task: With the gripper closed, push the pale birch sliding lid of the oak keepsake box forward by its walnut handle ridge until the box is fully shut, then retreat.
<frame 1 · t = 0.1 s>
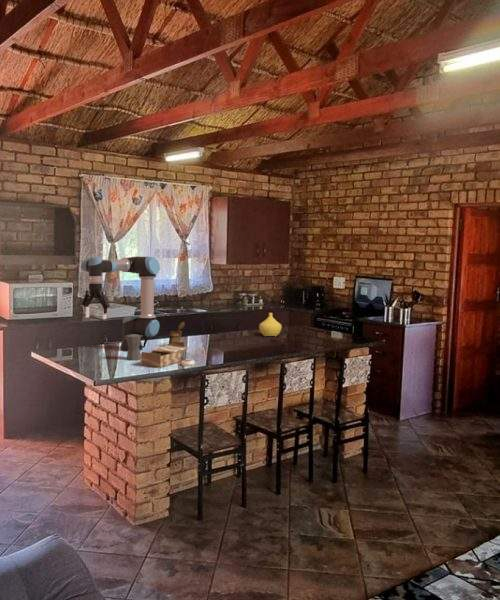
hand: (95, 318, 336), 28 cm above the table, fingers open, 13 cm apart
wooden mug: (176, 347, 401), on the table
vase: (270, 336, 459), on the table
coffeepot: (135, 359, 355), on the table
box: (160, 363, 342), on the table
lid: (170, 346, 350), point 9 cm above the table, slide at 10.0 cm
tape roll: (188, 365, 340), on the table
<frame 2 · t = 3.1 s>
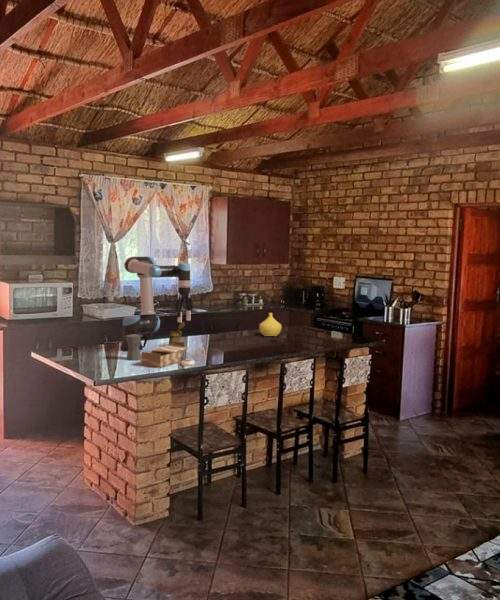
hand: (184, 321, 362), 24 cm above the table, fingers open, 9 cm apart
nothing on the table moved.
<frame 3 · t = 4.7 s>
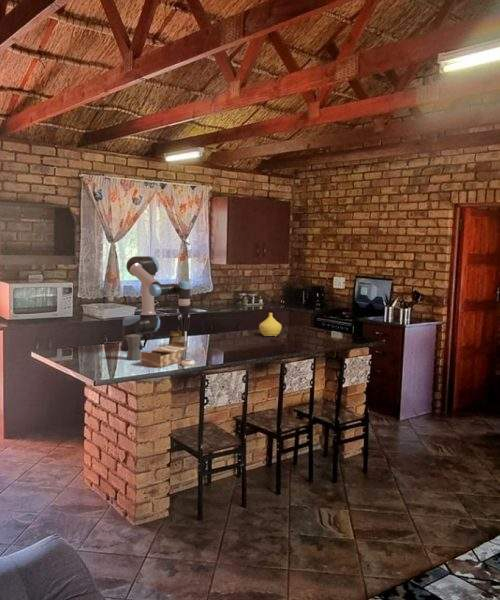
hand: (184, 341, 363), 11 cm above the table, fingers closed
nothing on the table moved.
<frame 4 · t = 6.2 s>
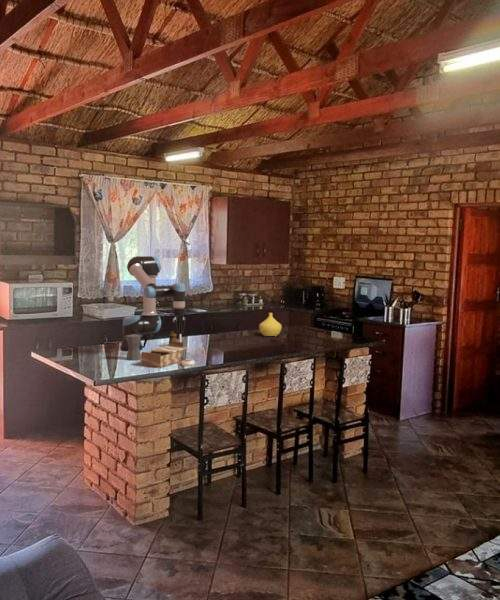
hand: (178, 344, 358), 9 cm above the table, fingers closed
lid: (169, 346, 349), point 9 cm above the table, slide at 8.7 cm, touching gripper
everything else where it was.
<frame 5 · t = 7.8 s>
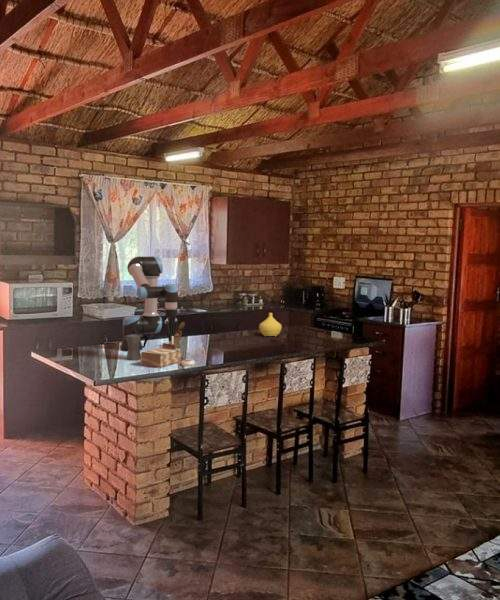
hand: (171, 346, 350), 9 cm above the table, fingers closed
lid: (161, 349, 341), point 9 cm above the table, slide at 0.0 cm, touching gripper
everything else where it was.
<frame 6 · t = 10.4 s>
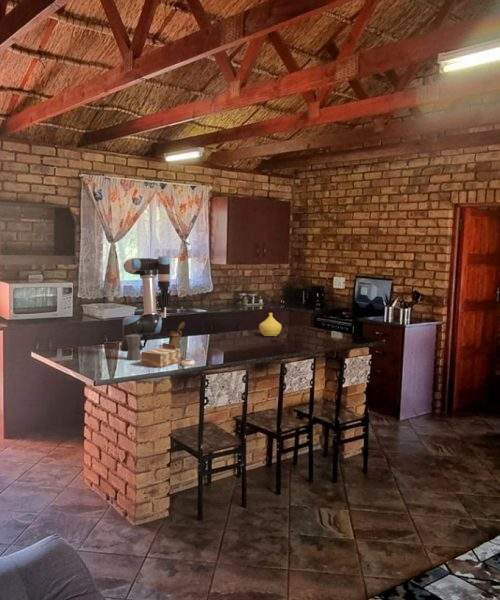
hand: (163, 317, 356), 27 cm above the table, fingers closed
lid: (161, 349, 341), point 9 cm above the table, slide at 0.0 cm
everything else where it was.
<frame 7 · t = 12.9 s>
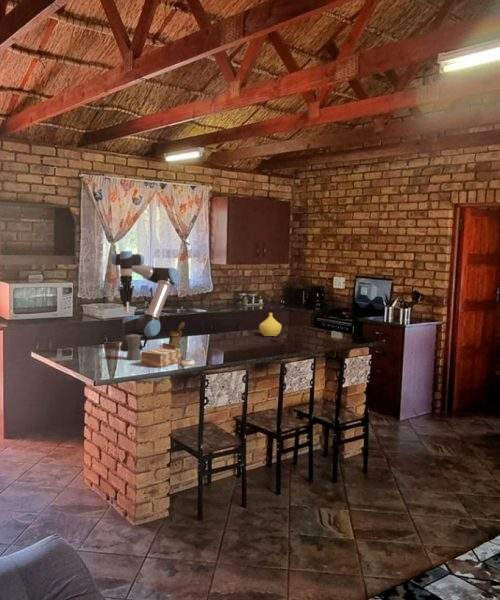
hand: (126, 311, 359), 29 cm above the table, fingers closed
nothing on the table moved.
at the end: lid slide at 0.0 cm; the gripper is holding nothing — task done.
